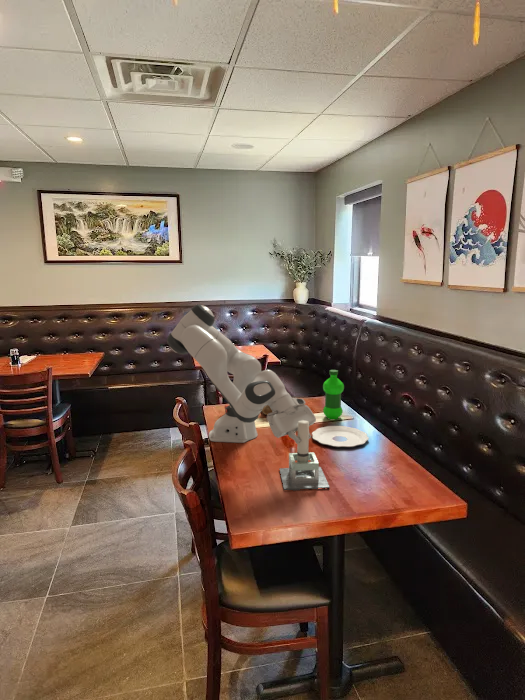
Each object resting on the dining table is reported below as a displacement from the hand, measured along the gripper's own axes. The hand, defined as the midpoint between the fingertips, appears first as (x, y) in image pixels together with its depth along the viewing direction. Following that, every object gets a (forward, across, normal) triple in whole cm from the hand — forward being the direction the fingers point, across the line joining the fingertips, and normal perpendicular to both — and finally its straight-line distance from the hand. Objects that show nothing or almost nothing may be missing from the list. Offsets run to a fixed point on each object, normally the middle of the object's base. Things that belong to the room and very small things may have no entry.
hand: (304, 440), depth 159 cm
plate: (+1, +42, +21) cm, 47 cm away
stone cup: (-33, +48, +55) cm, 80 cm away
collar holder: (+10, 0, +11) cm, 15 cm away
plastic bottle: (-13, +62, +34) cm, 72 cm away
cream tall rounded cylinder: (+6, 0, +7) cm, 9 cm away
